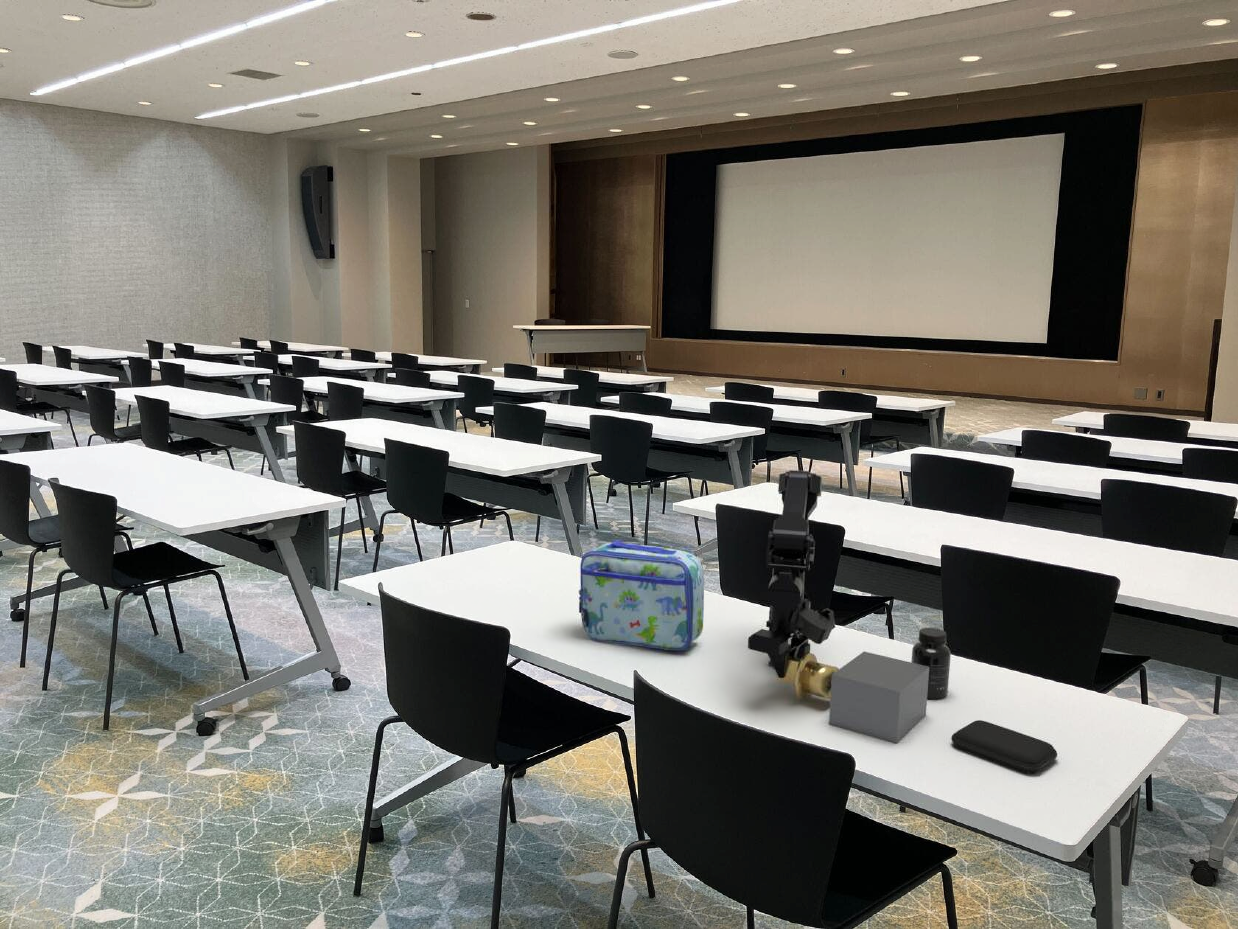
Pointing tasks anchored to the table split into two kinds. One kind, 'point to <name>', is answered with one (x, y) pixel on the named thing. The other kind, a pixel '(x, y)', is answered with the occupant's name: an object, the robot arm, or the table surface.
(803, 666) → the end cover
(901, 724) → the block
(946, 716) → the table surface
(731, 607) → the table surface
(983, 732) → the carrying case or bag
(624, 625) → the lunch box
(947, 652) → the supplement bottle
